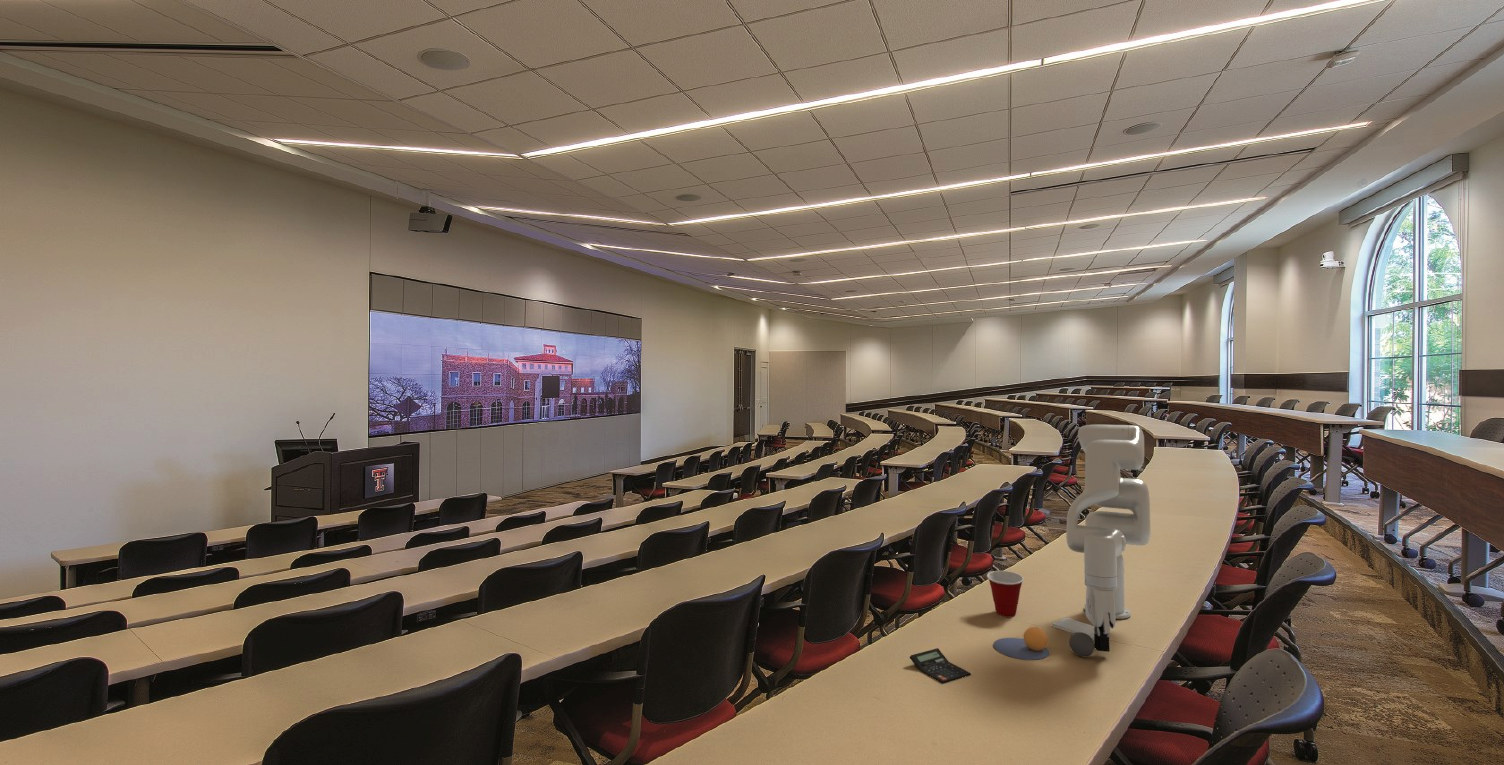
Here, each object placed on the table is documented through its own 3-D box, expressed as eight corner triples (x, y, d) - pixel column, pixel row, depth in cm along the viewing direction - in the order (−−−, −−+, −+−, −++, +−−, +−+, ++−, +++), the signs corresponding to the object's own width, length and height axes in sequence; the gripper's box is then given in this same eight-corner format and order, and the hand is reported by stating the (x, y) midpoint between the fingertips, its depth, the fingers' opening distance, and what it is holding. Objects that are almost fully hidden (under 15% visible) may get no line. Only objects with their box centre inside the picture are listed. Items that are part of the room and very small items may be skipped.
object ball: (1047, 644, 170) (1023, 646, 172) (1043, 623, 170) (1020, 624, 172) (1052, 654, 164) (1028, 655, 166) (1048, 631, 165) (1024, 633, 166)
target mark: (990, 636, 177) (990, 635, 177) (1043, 640, 174) (1043, 640, 174) (996, 657, 164) (996, 656, 164) (1054, 662, 160) (1054, 661, 160)
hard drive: (1051, 623, 185) (1093, 636, 174) (1067, 617, 189) (1108, 630, 179) (1051, 628, 185) (1093, 642, 174) (1067, 622, 189) (1108, 635, 179)
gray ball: (1093, 636, 167) (1077, 651, 168) (1076, 623, 166) (1060, 638, 168) (1103, 650, 161) (1086, 666, 162) (1086, 637, 160) (1069, 653, 162)
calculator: (942, 685, 150) (942, 672, 150) (909, 666, 160) (909, 654, 160) (970, 676, 154) (970, 664, 154) (936, 658, 164) (936, 647, 164)
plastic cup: (987, 617, 192) (986, 578, 192) (987, 606, 202) (987, 569, 202) (1025, 622, 188) (1024, 582, 188) (1024, 610, 198) (1023, 572, 198)
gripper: (1077, 571, 172) (1078, 637, 172) (1093, 588, 158) (1094, 660, 158) (1107, 573, 171) (1108, 640, 170) (1126, 590, 156) (1127, 663, 156)
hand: (1101, 650), depth 164 cm, fingers closed
